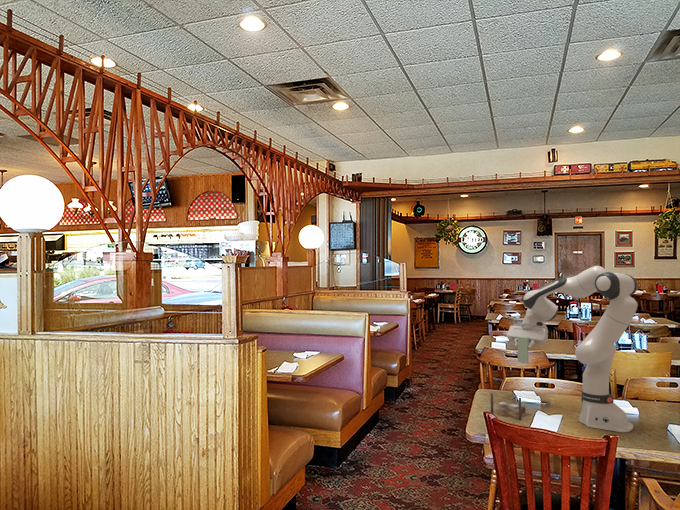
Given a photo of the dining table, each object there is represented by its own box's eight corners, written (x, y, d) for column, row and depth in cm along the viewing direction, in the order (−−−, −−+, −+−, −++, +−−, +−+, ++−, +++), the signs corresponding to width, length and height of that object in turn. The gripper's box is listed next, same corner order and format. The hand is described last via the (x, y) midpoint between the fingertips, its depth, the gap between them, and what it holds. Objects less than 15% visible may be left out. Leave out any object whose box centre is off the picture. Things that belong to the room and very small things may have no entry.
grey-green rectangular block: (528, 363, 263) (528, 337, 263) (527, 363, 262) (527, 338, 262) (518, 361, 267) (518, 336, 266) (517, 362, 265) (517, 336, 265)
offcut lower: (520, 415, 248) (520, 410, 248) (516, 418, 245) (516, 412, 245) (501, 411, 255) (501, 406, 255) (496, 413, 251) (496, 408, 251)
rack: (531, 417, 250) (531, 393, 250) (521, 423, 241) (521, 399, 241) (500, 410, 261) (500, 387, 261) (489, 416, 252) (489, 392, 252)
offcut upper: (519, 410, 248) (519, 405, 248) (516, 412, 245) (516, 407, 245) (501, 406, 254) (501, 401, 254) (498, 408, 251) (498, 403, 251)
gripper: (509, 320, 276) (501, 341, 269) (548, 324, 262) (540, 346, 255) (513, 327, 280) (505, 348, 272) (551, 331, 266) (544, 353, 259)
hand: (522, 347), depth 264 cm, fingers closed on grey-green rectangular block, 5 cm apart
